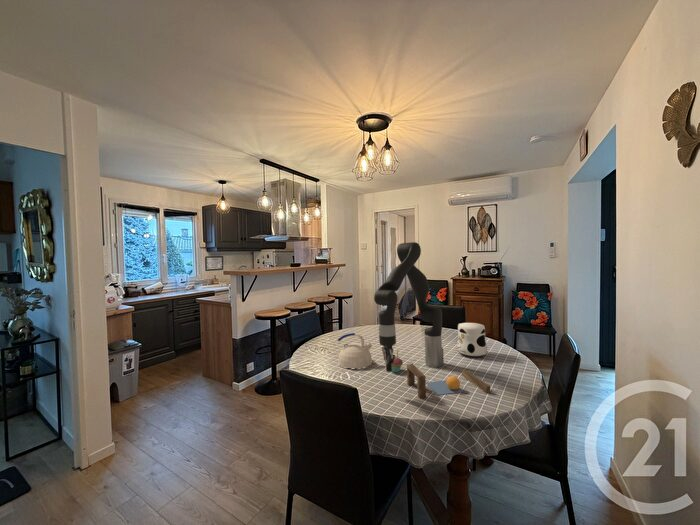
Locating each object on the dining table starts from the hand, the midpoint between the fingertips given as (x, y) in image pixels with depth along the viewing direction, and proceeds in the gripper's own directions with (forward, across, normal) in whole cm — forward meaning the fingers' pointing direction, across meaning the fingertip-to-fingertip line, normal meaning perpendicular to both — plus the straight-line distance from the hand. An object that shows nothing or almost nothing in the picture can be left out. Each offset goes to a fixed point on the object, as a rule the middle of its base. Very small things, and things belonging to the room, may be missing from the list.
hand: (388, 371), depth 135 cm
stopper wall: (+11, 0, -43) cm, 44 cm away
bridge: (+10, 0, -13) cm, 16 cm away
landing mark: (+11, 0, -27) cm, 29 cm away
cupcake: (+11, +25, -11) cm, 29 cm away
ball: (+8, -3, -30) cm, 31 cm away
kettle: (+11, +42, +8) cm, 44 cm away
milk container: (+12, +38, -65) cm, 76 cm away
